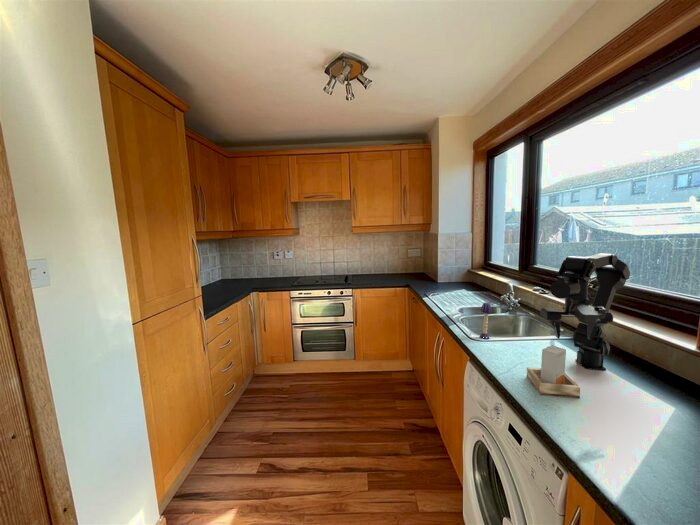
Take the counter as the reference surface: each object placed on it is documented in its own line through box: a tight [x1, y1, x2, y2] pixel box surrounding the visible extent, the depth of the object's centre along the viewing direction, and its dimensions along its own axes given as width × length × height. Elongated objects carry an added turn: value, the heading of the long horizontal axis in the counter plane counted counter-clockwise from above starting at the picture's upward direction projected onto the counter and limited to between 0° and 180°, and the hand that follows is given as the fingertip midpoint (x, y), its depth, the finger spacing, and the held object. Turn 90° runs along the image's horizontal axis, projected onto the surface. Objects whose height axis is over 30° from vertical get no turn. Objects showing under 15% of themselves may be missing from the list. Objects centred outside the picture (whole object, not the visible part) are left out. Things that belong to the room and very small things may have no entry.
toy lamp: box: [479, 302, 493, 339], centre depth 127 cm, size 5×5×17 cm
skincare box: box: [540, 344, 567, 385], centre depth 87 cm, size 6×4×12 cm
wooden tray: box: [526, 367, 581, 399], centre depth 88 cm, size 10×10×4 cm
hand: (573, 338), depth 93 cm, fingers open, 9 cm apart
